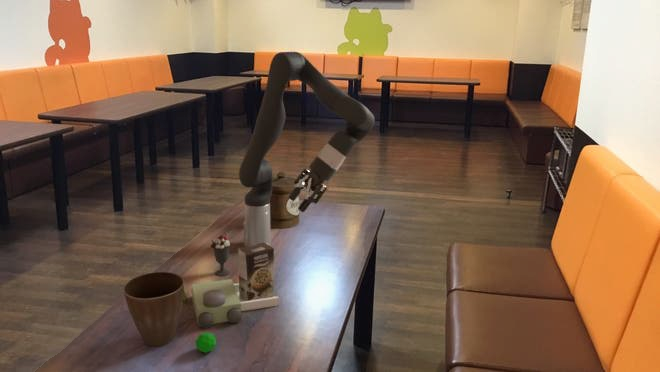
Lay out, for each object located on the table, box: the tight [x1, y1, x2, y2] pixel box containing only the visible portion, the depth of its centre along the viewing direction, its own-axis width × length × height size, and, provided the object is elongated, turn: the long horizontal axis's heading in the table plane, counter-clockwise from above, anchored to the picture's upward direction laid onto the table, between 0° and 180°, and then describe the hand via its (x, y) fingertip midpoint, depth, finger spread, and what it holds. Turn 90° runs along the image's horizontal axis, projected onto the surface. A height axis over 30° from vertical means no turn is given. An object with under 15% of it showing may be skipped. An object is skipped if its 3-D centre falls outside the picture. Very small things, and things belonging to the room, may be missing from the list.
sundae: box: [210, 229, 232, 277], centre depth 180 cm, size 7×7×15 cm
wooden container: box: [270, 171, 300, 229], centre depth 226 cm, size 15×15×22 cm
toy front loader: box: [191, 278, 280, 329], centre depth 160 cm, size 19×24×7 cm
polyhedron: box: [195, 331, 217, 353], centre depth 138 cm, size 5×5×5 cm
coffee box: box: [238, 242, 275, 301], centre depth 164 cm, size 9×6×16 cm
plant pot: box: [122, 271, 185, 347], centre depth 141 cm, size 15×15×16 cm
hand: (295, 204), depth 164 cm, fingers open, 8 cm apart
